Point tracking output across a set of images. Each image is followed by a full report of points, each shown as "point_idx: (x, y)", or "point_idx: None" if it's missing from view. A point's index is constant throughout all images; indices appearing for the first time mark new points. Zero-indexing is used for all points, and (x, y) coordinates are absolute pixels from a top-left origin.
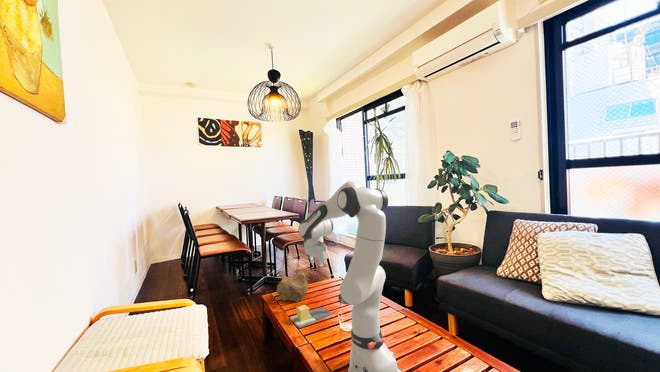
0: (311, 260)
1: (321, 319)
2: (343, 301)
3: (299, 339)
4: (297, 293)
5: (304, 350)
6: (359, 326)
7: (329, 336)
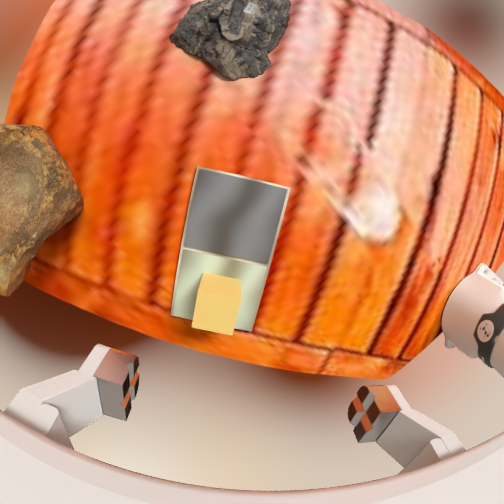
0: (125, 419)
1: (275, 245)
2: (242, 70)
3: (299, 359)
4: (63, 219)
5: (342, 371)
6: None
7: (363, 295)
